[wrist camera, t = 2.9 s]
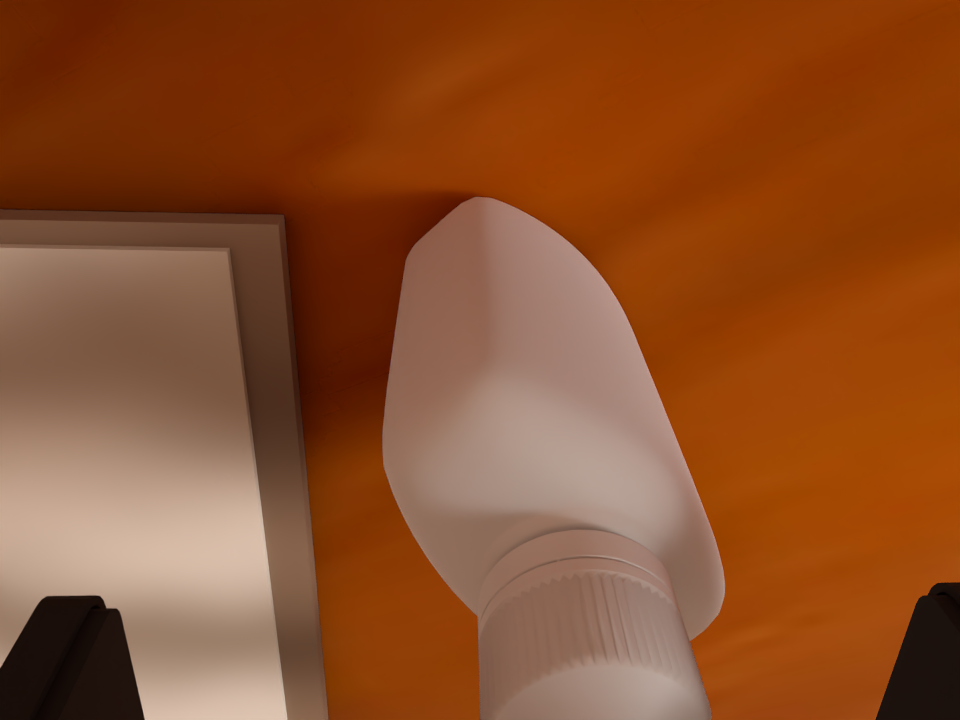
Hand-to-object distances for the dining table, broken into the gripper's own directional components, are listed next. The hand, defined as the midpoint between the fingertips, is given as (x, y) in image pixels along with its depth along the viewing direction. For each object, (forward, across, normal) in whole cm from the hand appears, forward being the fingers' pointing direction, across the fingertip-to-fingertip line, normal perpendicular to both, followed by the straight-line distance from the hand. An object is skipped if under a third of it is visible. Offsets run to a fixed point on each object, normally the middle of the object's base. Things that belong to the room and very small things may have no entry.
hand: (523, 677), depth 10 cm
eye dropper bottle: (+10, -1, -1) cm, 10 cm away
